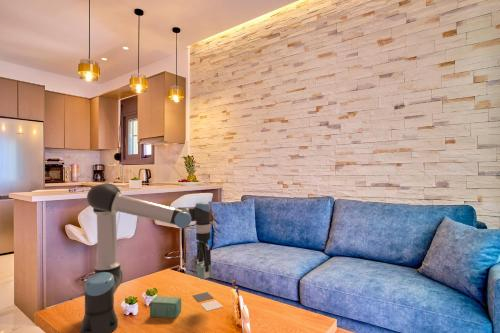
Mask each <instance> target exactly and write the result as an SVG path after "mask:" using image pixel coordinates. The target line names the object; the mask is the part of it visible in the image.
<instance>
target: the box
mask: <svg viewBox="0 0 500 333" xmlns="http://www.w3.org/2000/svg"><path fill="white" fill-rule="evenodd" d="M181 311H182V297H177V296H175V297H174V296H162V295H160V296H159V295H156V296H155V297H153V299H152V300H151V301H150V305H149V317H154V318H168V319H169V318H171V319H175V318H177V317H178V316H179V314H180V313H181Z"/></svg>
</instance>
